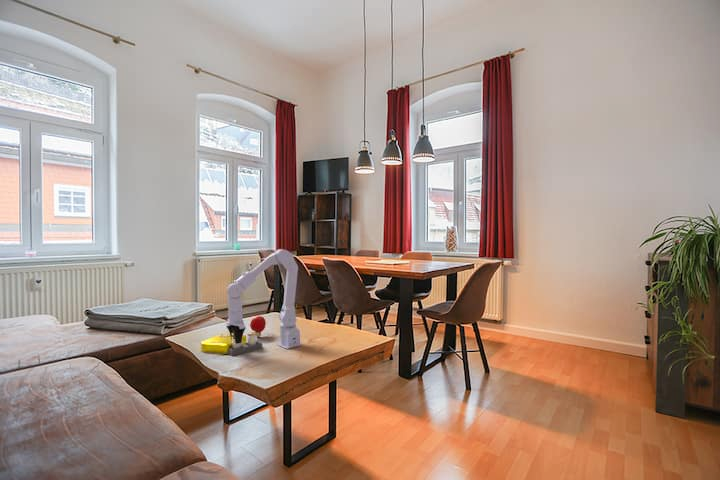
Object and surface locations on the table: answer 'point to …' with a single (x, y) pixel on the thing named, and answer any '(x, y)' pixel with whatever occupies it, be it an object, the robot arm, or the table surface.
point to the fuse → (251, 338)
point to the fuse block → (244, 348)
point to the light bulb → (258, 325)
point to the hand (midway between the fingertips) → (236, 342)
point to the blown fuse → (234, 345)
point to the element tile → (219, 344)
